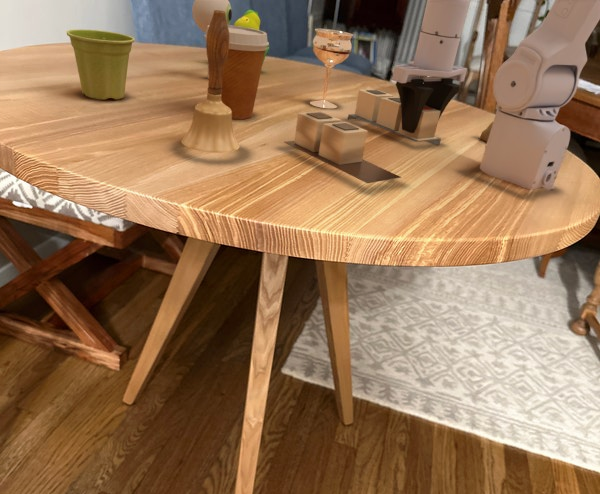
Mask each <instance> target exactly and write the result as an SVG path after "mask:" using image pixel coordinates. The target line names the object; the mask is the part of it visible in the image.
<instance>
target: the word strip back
mask: <svg viewBox="0 0 600 494" xmlns="http://www.w3.org/2000/svg"><path fill="white" fill-rule="evenodd" d="M401 117H402V112H401V102H400V97H399V96H394V95H393V94H391V93H387V92H385V91H381V90H379V89H375V88H374V89H359V90H358V94H357V100H356V106H355V111H354V113H350V114H348V115H347V120H348V121H349V120H350V121H351V120H359V121H363V122H366V123H368V124H371V125H373V126H376V127H378V128H381V129H383V130H386V131H388V132H390V133H393V134H395V135H398V136H400V137H403V138H406V139H408V140H411V141H413V142H415V143H419V142H427V143H429V144H432V145H434V146H439V145H440V144H441V141H442V138H441V137H438V136H436V135H435V136H434V137H431V138H422V139H416V138H414V137H411V136H409V135H406V134H403V133H401V132H398V131H399V126H400V122H401Z"/></svg>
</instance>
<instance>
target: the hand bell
mask: <svg viewBox="0 0 600 494" xmlns="http://www.w3.org/2000/svg"><path fill="white" fill-rule="evenodd" d="M205 44H206V45H205V47H206V57H207V63H208V62H209V79H208V84H207V86H208V87H207V93H206V99H205V100H204V101H201V102H199V103H197V104H195V106H194V112H193V116H192V120H191V124H190V128H189V130H188V131H187V133H186V134H185V136H184V137H183V138H182V139H181V144H182V145H183V146H185V147H186V148H188V149H191V150H194V151H198V152H203V153H212V154H213V153H214V154H225V153H232V152H235V151H238V150H239V149H240V148H241V145H240V143H239V142H238V140H237V138H236V135H235V132H234V126H233V119H232V111H231V109H230V108H229V107H227V106H226V105H225V104H223V103H222V101H221V93H222V89H221V88H222V73H223V68H224V64H225V62H226V59H227V55H228V50H229V29H228V25H227V20H226V12H225V11H220V10H214V14H213V17H212V20H211V23H210V25H209V29H208V32H207V41H206V42H205Z"/></svg>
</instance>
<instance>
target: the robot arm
mask: <svg viewBox="0 0 600 494" xmlns="http://www.w3.org/2000/svg"><path fill="white" fill-rule="evenodd" d="M470 2H471V0H426V4H425V9H424V14H423V18H422V23H421V28H420V32H419V37H418V42H417V47H416V50H415V54H414V60H413V61H410V60H409V61H408V63H407V64H402V65H401V64H400V65H395V66H394V68H393V72H392V77H391V80H392V81H394V82H395V87H396V89H397V93H398V97H400V102H401V112H402V130H404V131H407V132H410V133H414V132H415V130H416V128H417V125H418V123H419V119H420V116H421V113H422V110H423V108H424V105H425V106H428V107H430V108H433V109H436V110H439V111H441V112H440V116H439V119H440V118H441V117H442V115H443V113H444V111H445V110H446V108H447V106H449V103H450V102H451V101H452V100H453V98H454V97H455V96H456V95H457V94H458V93H459V92H460V88H461V85H460V84H458V83H454V82H455V81H457V82H459V83H460V82H461V83H463V82H465V79H466V75H467V71H468V68H467V67H464V66H460V65H454V64H455V61H456V57H457V53H458V50H459V45H460V41H461V38H462V34H463V29H464V26H465V21H466V19H467V18H466V17H467V13H468V10H469V6H470ZM599 21H600V0H554V2H553V4H552V5H551V7H550V9H549V11H548V13H547V15H546V17H545V18H544V20H543V21H542V24H541V25H539V27H538V28H537V29H535V30H534V31H533V32H531V33H530V34H529V35H527V36H526V37H525V38H524V39H522V40H521V41H520V42H519V44H518V46H517V48H516V49H515V51H514V52H513V54H511V56H510V57H509V58H508V59H506V60H505V61H504V62H502V64H500V66H499V68H498V69H497V71H496V73H495V74H494V78H493V82H492V94H493V98H494V100H495V102H496V104H495V110H496V112H495V115H494V117H493V118H494V119H493V121H492V122H493V125H492V128H491V131H490V135H489V138H488V141H487V142H486V145H485V148H484V151H483V155H482V158H481V162H480V165H479V169H480V171H482V172H483V173H484V174H486V175H488V176H490V177H493V178H496V179H499V180H502V181H505V182H509V183H511V184H514V185H517V186H519V187H522V188H524V189H527V190H529V191H530V190H531V191H532V190H536V189H537V190H538V189H540V188H543V189H546V190H549V191H551V190H555V188H556V184H555V182H556V179H557V176H558V174H559V172H560V168H561V166H562V164H563V160H564V159H565V157H566V156H565V155H566V154H567V153H566V152H567V149H568V147H569V144H570V141H571V129H570V128H569V127H568V126H566V125H564V124H560V123H559V122H557V120H556V118H557V117H558V114H559V111H560V109H561V108H562V107H564V106H566V105H567V104H568V103H570V102H571V100H572V99H573V98H574V96H575V94H576V92H577V90H578V86H579V79H580V75H581V73H582V70H583V68H584V67H585V66H586V63H587V62H588V54H587V50H586V42H587V41H588V39H589V38H590V36H591V35H592V33H593V31H594V29H595V28H596V26H597V25H598V23H599Z"/></svg>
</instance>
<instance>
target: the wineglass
mask: <svg viewBox="0 0 600 494" xmlns="http://www.w3.org/2000/svg"><path fill="white" fill-rule="evenodd" d="M314 32H315V36H314V38H313V40H312V50H313V53H314V55H315V57H316V58H317V59H318V60H319V61H320V62H321V63H323V64H324V67H325V68H326V69H325V78H324V88H323V96H322V97H323V98H322V99H319V100H312V101H310V102H309V105H311V106H314V107H317V108H321V109H337V108H338V106H337V104H334V103H332V102H331V101H328V100H327V99H326V98H327V92H328V88H329V82H330V76H331V71H332V69H333V68H334V67H335V66H336V65H338V64H339V65H340V64H341V63H343V62H344V61H345V60H346V59H348V58H349V56H350V54H351V52H352V48H353V45H352V40H351V39H352V38H353V36H354V34H352V33H350V32H346V31H342V30H336V29H329V28H315V29H314Z"/></svg>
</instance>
